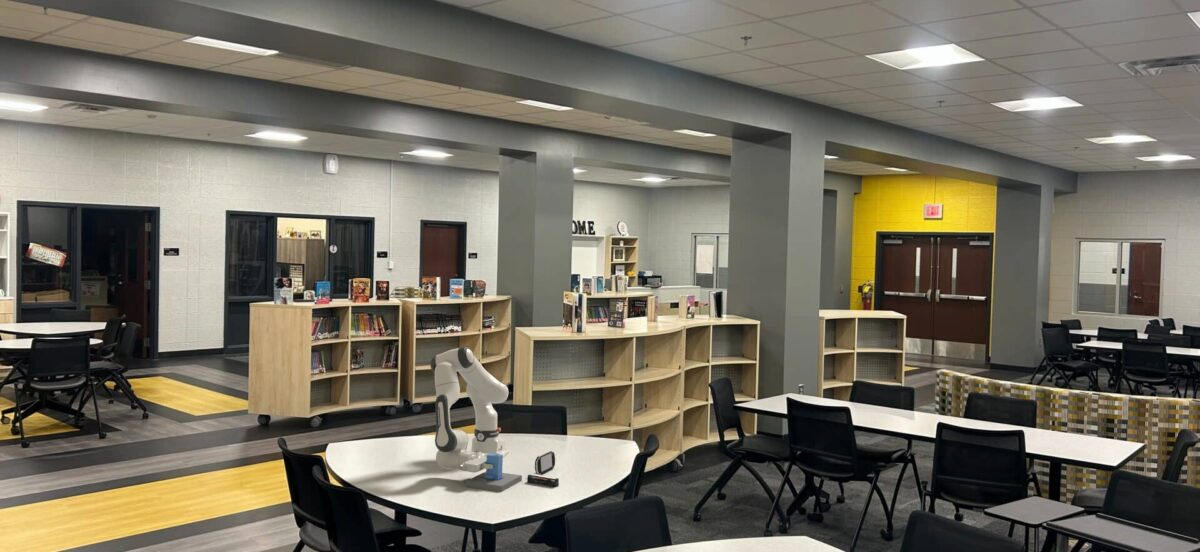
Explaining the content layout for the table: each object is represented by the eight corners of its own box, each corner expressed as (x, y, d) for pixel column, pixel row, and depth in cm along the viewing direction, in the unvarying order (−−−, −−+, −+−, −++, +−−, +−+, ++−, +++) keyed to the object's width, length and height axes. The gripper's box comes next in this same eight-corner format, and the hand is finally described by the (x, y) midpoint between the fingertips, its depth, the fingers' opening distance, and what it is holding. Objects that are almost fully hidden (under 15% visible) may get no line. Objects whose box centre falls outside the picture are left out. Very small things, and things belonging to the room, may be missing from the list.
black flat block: (530, 479, 386) (530, 470, 386) (577, 487, 374) (577, 477, 374) (513, 486, 373) (513, 476, 373) (561, 494, 362) (561, 485, 362)
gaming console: (534, 476, 388) (539, 476, 387) (533, 457, 388) (537, 457, 388) (552, 467, 406) (556, 468, 405) (550, 449, 406) (555, 449, 405)
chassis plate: (486, 476, 386) (486, 470, 386) (521, 480, 380) (521, 475, 380) (465, 486, 368) (465, 481, 368) (501, 491, 361) (501, 486, 361)
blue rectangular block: (493, 477, 380) (494, 449, 379) (505, 479, 378) (505, 450, 377) (482, 483, 370) (483, 453, 370) (494, 484, 368) (495, 455, 368)
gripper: (457, 459, 368) (485, 463, 364) (480, 450, 388) (506, 453, 383) (457, 473, 369) (484, 477, 364) (479, 463, 388) (506, 467, 383)
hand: (496, 465), depth 373 cm, fingers open, 4 cm apart
